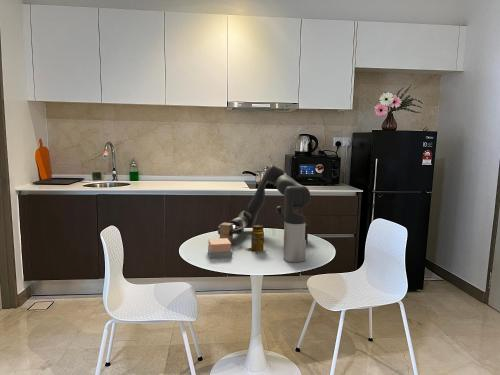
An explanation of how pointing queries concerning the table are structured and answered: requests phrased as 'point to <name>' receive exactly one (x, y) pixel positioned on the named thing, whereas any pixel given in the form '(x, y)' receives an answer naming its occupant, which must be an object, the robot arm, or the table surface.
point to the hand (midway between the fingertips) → (224, 233)
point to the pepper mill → (279, 210)
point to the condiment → (257, 239)
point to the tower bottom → (220, 254)
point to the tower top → (219, 245)
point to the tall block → (226, 231)
